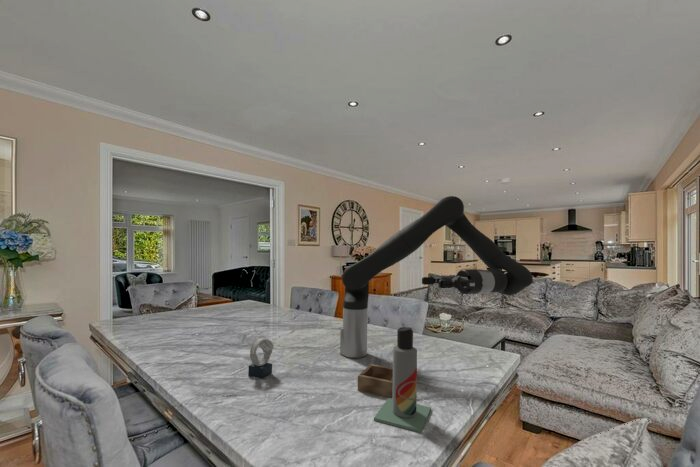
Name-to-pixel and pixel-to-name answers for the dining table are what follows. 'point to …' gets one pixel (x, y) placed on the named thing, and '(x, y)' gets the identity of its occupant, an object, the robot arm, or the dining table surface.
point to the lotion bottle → (404, 374)
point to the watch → (261, 367)
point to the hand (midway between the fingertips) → (430, 282)
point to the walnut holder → (376, 380)
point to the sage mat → (408, 423)
